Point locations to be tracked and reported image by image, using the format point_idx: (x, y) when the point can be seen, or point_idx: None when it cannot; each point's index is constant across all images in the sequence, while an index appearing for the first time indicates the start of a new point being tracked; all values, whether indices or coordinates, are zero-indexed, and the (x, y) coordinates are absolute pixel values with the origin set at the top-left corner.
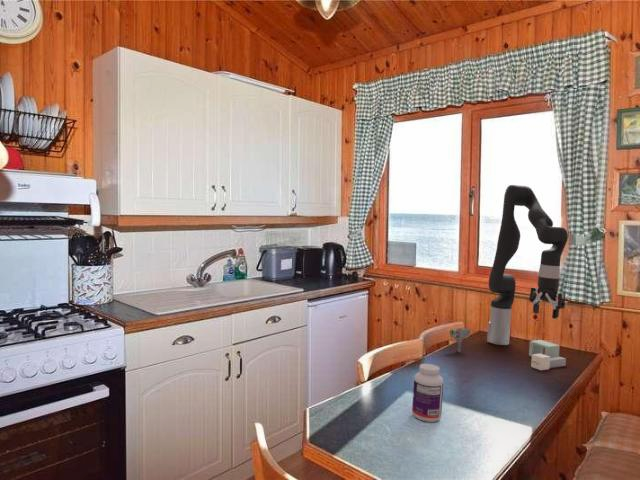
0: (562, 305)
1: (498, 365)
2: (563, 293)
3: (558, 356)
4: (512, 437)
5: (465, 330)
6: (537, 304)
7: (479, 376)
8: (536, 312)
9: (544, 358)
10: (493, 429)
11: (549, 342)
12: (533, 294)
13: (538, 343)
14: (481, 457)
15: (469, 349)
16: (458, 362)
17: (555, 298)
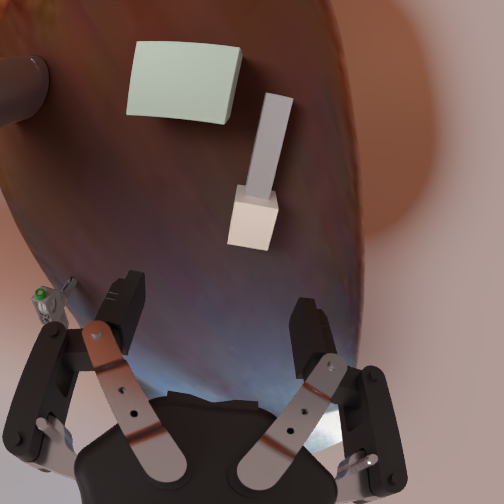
0: (371, 393)
1: (182, 290)
2: (394, 493)
3: (241, 56)
4: (339, 422)
5: (50, 314)
6: (119, 339)
7: (219, 364)
8: (143, 294)
9: (270, 235)
10: (322, 424)
11: (183, 42)
12: (62, 414)
13: (168, 115)
14: (331, 438)
15: (57, 238)
16: (139, 337)
17: (301, 439)
